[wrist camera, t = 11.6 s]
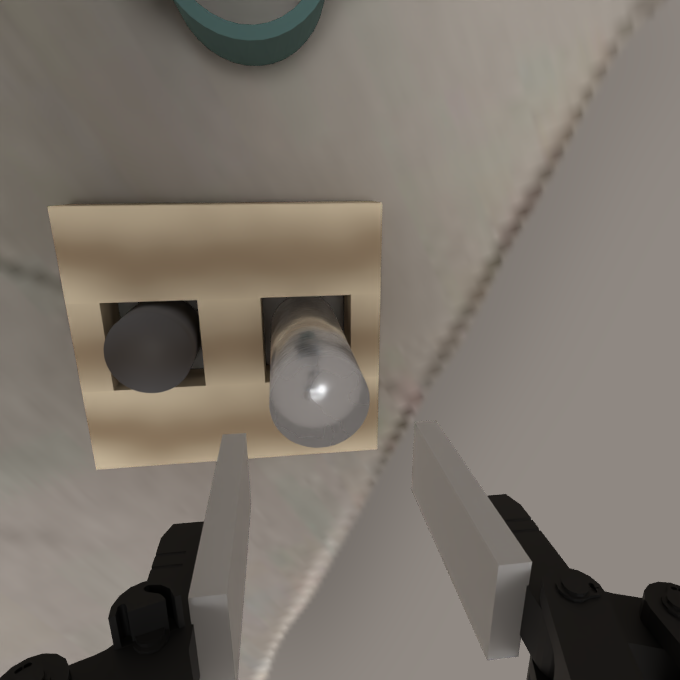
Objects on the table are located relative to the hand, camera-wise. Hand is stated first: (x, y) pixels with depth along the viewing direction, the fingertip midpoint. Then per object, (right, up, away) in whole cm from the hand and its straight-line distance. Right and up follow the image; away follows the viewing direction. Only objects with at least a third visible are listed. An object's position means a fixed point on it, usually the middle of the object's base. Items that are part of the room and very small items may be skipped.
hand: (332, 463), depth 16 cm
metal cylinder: (-2, +5, +16) cm, 17 cm away
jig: (-7, +5, +15) cm, 17 cm away
